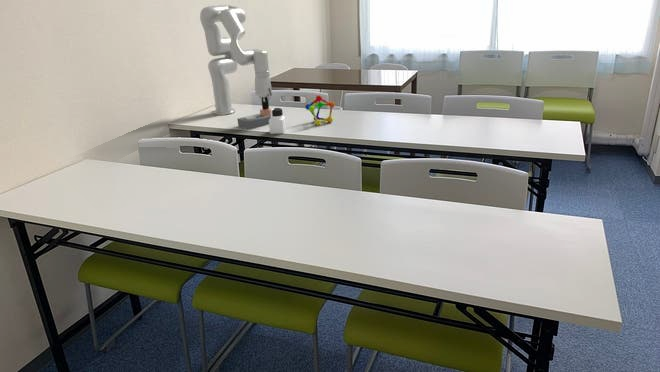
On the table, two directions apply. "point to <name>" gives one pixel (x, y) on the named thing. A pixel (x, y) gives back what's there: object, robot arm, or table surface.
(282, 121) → the medicine bottle
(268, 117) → the console
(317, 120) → the educational toy
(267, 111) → the terracotta button
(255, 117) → the grey button
